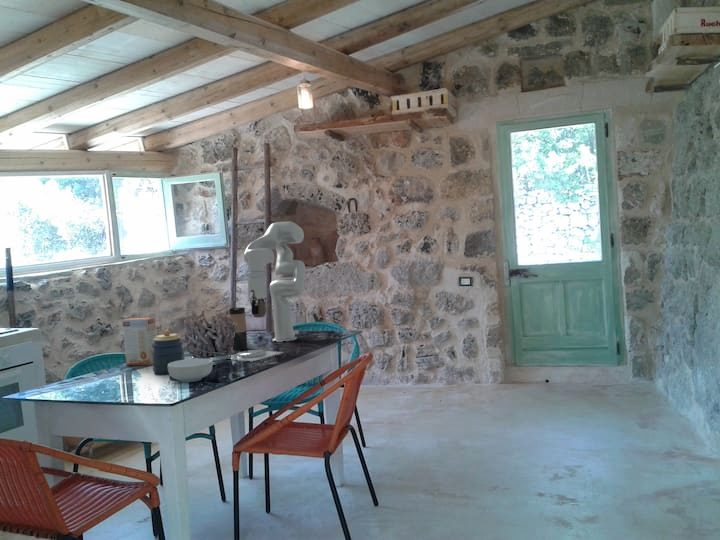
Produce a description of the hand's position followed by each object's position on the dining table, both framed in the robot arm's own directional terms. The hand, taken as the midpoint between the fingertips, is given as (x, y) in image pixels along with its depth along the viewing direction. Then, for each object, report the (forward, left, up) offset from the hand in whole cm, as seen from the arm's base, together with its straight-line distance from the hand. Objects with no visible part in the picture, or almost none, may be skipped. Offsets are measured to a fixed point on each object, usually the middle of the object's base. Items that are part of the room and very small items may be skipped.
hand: (259, 312), depth 302 cm
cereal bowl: (+56, +16, -19) cm, 61 cm away
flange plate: (+11, +4, -18) cm, 22 cm away
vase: (0, 0, -2) cm, 2 cm away
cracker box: (+41, -35, -19) cm, 57 cm away
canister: (+48, -7, -19) cm, 52 cm away
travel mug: (-2, -17, -19) cm, 25 cm away
